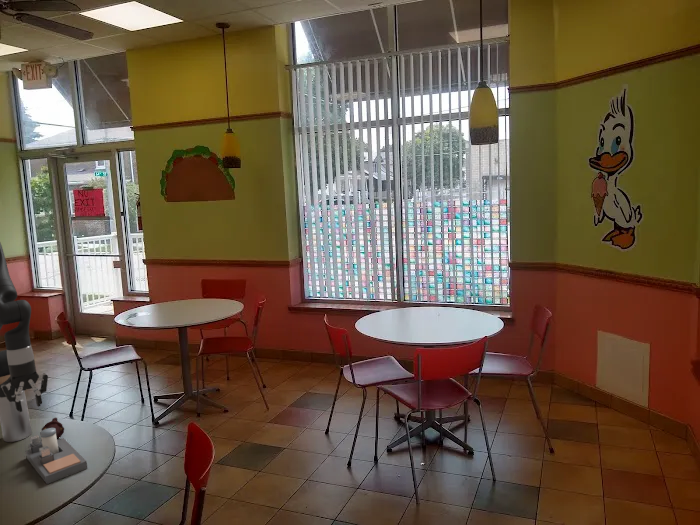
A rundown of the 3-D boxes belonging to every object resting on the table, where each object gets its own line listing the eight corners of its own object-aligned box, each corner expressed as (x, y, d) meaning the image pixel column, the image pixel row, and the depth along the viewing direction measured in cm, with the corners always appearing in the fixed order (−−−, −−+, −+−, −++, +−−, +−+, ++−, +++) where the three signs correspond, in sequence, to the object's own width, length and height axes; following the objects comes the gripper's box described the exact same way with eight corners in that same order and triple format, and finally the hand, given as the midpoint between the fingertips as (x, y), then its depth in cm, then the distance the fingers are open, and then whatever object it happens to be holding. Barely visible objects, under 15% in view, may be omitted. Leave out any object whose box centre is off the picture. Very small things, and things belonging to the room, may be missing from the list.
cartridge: (43, 459, 186) (38, 431, 185) (57, 453, 189) (53, 426, 188) (46, 463, 183) (42, 435, 181) (61, 458, 186) (57, 430, 184)
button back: (31, 445, 188) (29, 437, 187) (39, 443, 189) (37, 434, 189) (33, 447, 186) (31, 439, 186) (40, 445, 188) (39, 437, 187)
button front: (40, 457, 179) (39, 448, 179) (48, 454, 181) (47, 445, 180) (42, 459, 177) (41, 450, 177) (50, 456, 179) (49, 447, 178)
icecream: (64, 426, 196) (67, 415, 209) (40, 426, 193) (45, 415, 206) (61, 446, 195) (64, 433, 209) (37, 446, 192) (42, 433, 206)
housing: (26, 458, 188) (24, 445, 187) (64, 444, 196) (62, 432, 195) (46, 484, 169) (44, 470, 169) (87, 468, 177) (85, 455, 177)
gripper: (41, 352, 191) (49, 399, 193) (-7, 364, 181) (2, 413, 184) (47, 356, 185) (55, 404, 188) (-2, 368, 176) (7, 419, 178)
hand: (29, 408), depth 186 cm, fingers open, 5 cm apart
